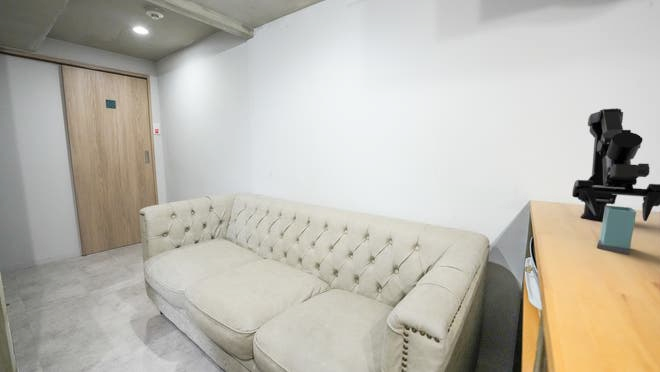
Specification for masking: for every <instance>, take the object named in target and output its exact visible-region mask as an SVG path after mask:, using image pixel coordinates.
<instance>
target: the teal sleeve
mask: <svg viewBox="0 0 660 372" xmlns="http://www.w3.org/2000/svg"><path fill="white" fill-rule="evenodd" d="M636 215H637V211H636V210H635V209H633V207H626V206H618V205H617V206H616V205H608V204H607V205H605V210H604V216H603V221H602V223H601V229H600V236H599V240H601V242H602V244H603V245H606V246H613V247H620V248H626V249H630V250H631V246H630V245H632V239H633V233H634V228H635V221H636Z"/></svg>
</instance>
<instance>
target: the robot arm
mask: <svg viewBox="0 0 660 372" xmlns="http://www.w3.org/2000/svg"><path fill="white" fill-rule="evenodd" d="M623 117H624V112H623V111H622V109H621V108H618V107H617V108H604V109H600V110H599V111H597V112H594V113H590V115H589V117H588V121H587V127H589V133H590V134H591V135H592V137H593V138H594V144H593V155H592V169H591V175H590V177H589V178H588V179H587V180H586V179H576V180H575V181H574V184H573V187H572V193H571V194H572V195H571V196H572V197H573V198H577V199H578V200H579V201H581V202H583V203H584V208H583V209H584V210H583V213H582V214H581V216H580V218H581V219H586V220H592V221H600V222H603V216H604V210H605V205H607V206H608V205H614V204H615V203H616V199H617V197H618V196H629V197H640V198H641V197H642V199H643V200H642V201H643V203H642V206H641V208H642V209H641V210H642V220H643V222H646V221H648V219H649V216H650V214H651V212H652V211H653V208H654V207H659V206H660V183H649V184H648V186H647V187H646V188H639V187H638V188H637V187H636V188H635V187H634V186H636V185H637V183H638V180H637V179H638V178H646V177H648V176H649V175H650V164H649V163H638V164H632V162H631V161H632V160H633V159H634V158H636V155H637V153H638V151H639V149H641V145H642V143H643V140H644V139H643V137H642V136H641V135H640V134H638V133H634V132H632V130H631V129H624V128H623V127H624V126H623V120H624V118H623Z"/></svg>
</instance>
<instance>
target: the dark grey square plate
mask: <svg viewBox="0 0 660 372" xmlns="http://www.w3.org/2000/svg"><path fill="white" fill-rule="evenodd" d="M631 245H632V244H631ZM631 245H630V247H632V246H631ZM596 248H597V249H601V250H604V251H609V252H610V251H611V252H615V253H618V254H619V253H620V254H623V255H624V254H625V255H628V256H629V255H630V250H631V248H630V249H626V248H620V247H613V246H606V245H603V244H602V242H601V240H600V239H599V240H598V242H597V245H596Z"/></svg>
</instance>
